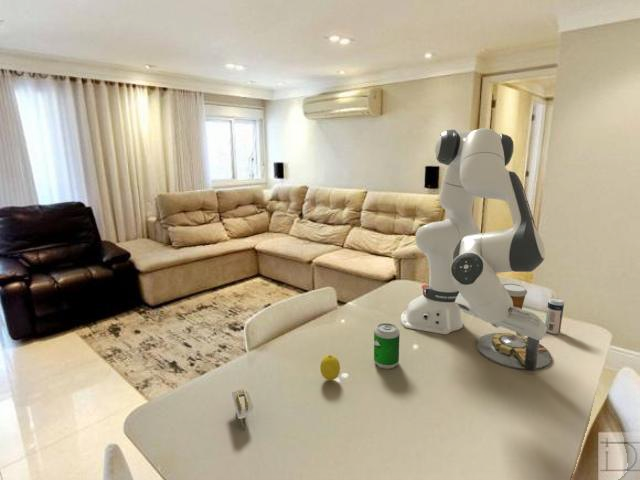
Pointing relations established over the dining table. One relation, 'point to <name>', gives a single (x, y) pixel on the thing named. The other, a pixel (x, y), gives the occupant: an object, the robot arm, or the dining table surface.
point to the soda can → (386, 345)
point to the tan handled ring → (519, 350)
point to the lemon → (330, 367)
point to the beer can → (554, 315)
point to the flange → (514, 342)
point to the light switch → (238, 405)
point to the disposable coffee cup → (516, 293)
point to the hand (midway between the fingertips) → (509, 329)
